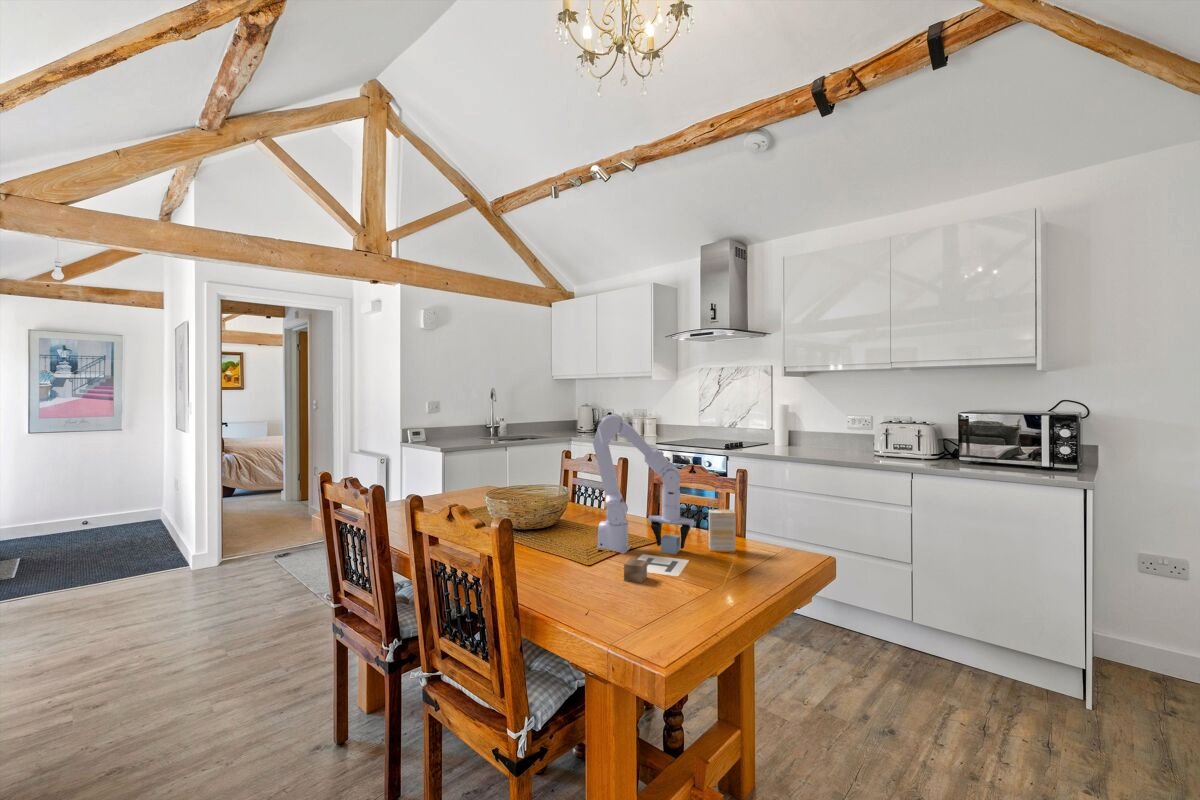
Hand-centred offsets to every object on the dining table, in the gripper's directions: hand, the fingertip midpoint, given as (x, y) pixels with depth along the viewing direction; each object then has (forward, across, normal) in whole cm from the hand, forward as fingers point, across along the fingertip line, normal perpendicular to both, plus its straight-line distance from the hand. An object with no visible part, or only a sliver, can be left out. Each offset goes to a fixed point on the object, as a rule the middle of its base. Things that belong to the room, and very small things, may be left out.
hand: (670, 546), depth 176 cm
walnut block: (+2, -3, -28) cm, 28 cm away
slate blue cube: (+2, 0, 0) cm, 2 cm away
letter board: (+2, 0, -14) cm, 14 cm away
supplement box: (+2, +15, +8) cm, 17 cm away
